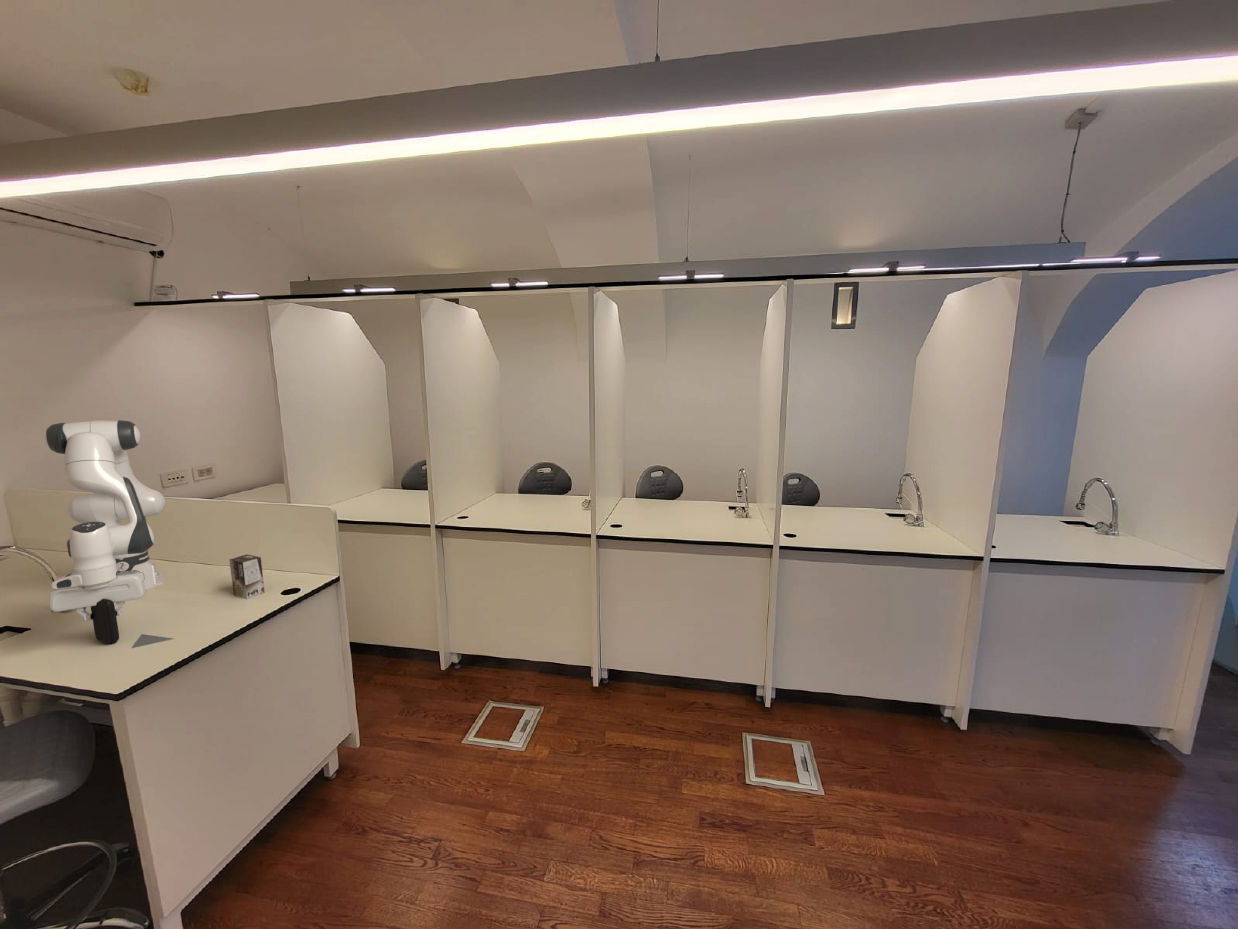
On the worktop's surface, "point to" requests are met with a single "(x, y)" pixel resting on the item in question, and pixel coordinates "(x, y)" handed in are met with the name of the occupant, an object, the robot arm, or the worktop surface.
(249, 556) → the coffee box
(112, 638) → the carrying case or bag
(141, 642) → the mat
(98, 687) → the worktop surface
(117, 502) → the robot arm
